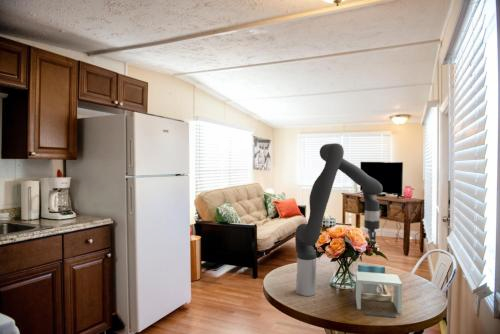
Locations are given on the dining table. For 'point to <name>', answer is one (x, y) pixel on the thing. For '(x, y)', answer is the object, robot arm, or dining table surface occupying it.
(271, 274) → the dining table surface
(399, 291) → the tunnel
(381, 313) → the pit mat
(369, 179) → the robot arm
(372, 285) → the cup
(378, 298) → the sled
